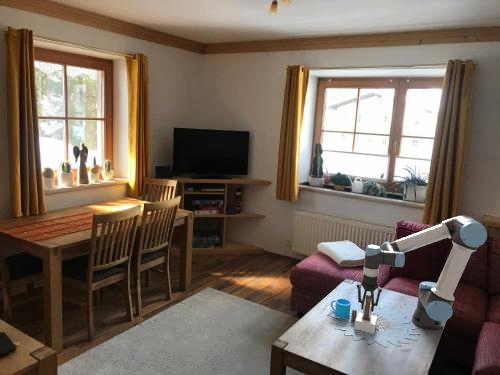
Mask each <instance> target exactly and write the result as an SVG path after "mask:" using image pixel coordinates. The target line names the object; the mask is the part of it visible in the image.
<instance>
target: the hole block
mask: <svg viewBox="0 0 500 375" xmlns="http://www.w3.org/2000/svg"><path fill="white" fill-rule="evenodd" d="M377 321H378V316H377V315H373V314H371V317H370V318H369V320H364V316H363V312H358V311H357V316H356V320H355V322H354V330H356V329H357V330H358V331H360V330H361V332H364V331H365V332H364V333H368V332H370V333H369V334H375V331H376V328H377Z"/></svg>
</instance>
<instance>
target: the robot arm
mask: <svg viewBox="0 0 500 375" xmlns="http://www.w3.org/2000/svg"><path fill="white" fill-rule="evenodd" d="M487 237H488V232H487V229H486V227H485V226H484V225H483V224H482V223H481V222H479V221H478V220H476V219H475V218H473V217H471V216H470V215H469V216H468V215H457V216H454V217H451V218H447V219H445V220H443V221H441V223H440V224H437V225H435V226H432V227H430V228H426V229H423V230H422V231H419V232H416V233H413V234H410V235H408V236H406V237H402V238H400V239H396V240H394V241H391V242H390V241H385V242H382V244H381V246H379V245H375V244H368V245H366V247H365V251H364V261H363V262H364V263H363V272H362V281H361V282H360V283H358V282H357V283H356V288H357V302H358V303H360V304H361V305H360V306H361V307H360V310H362V313H363V316H364V313H365V302H366V295H368V294H367V292H370V295H371V303H370V310H369V318H370V317H371V315H372V313H374V310H375V309H374V308H375V307H377V306H378V304H379V300H380V297H381V294H382V292H383V287H380V286H379V284H378V282H379V272H380V271H379V270H380V266H387V267H396V268H398V267H399V268H403V267H404V265H405V260H406V259H405V258H406V256H405V253H407V252H410V251H413V250H416V249H419V248H421V247H424V246H427V245H430V244H432V243H435V242H438V241H441V240H443V239H444V240H445V239H447V238H448V239H452V240H451V242H452V244H453V246H452V248H451V250H450V252H449V255H448V257H447V259H446V262H445V264H444V266H443V269H442V271H441V272H440V276H439V277H438V280H437V282H433V281H422V282H420V283H419V286H418V293H417V294H418V295H417V302H416V303H417V304H416V308H415V310H414V312H413V314H412V316H411V317H412V318H411V321H412V322H413V324H415V325H416V326H418V327H420V328H423V329H426V330H439V329H441V328H442V327H443V326H442V325H443V322H445V321H447V320H449V319H450V318H451V317H452V316H453V307H452V306H453V303H454V302H455V297H454V293H455V290H456V288H457V286H458V284H459V281H460V279H461V277H462V275H463V273H464V271H465V269H466V267H467V264H468V262H469V260H470V258H471V255H472V254H473V252H477V250H478V249H479V247H481V246H482V245H484V244H485V242H486V241H487ZM361 288H363V290H364V291H363V296H362V289H361ZM376 290H377V295H376V298H375V291H376Z"/></svg>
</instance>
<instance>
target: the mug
mask: <svg viewBox="0 0 500 375" xmlns="http://www.w3.org/2000/svg"><path fill="white" fill-rule="evenodd" d="M333 303H335V307H334V305H333ZM351 305H352V303H351V301H350V300H349V299H346V298H338V299H336V300H332V301H331V302H330V307H331V309H332V310H333V312H334V315H336V316H337V317H336V316H335V317H336V318H338V317H339V318H338V319H341V318H343V319H342V320H347V318H348V319H350V317H351Z"/></svg>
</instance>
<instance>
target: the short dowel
mask: <svg viewBox="0 0 500 375" xmlns="http://www.w3.org/2000/svg"><path fill="white" fill-rule="evenodd" d="M357 315H358V311H357V309H352V310H351V318H350V319H351V322H353V323H355V320H356V317H357Z"/></svg>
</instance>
